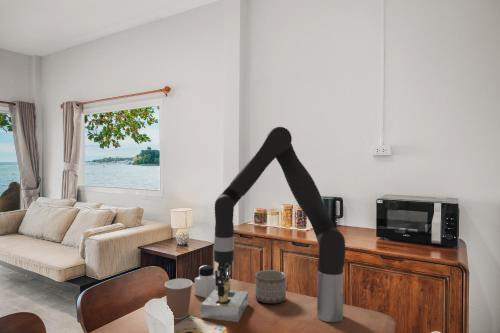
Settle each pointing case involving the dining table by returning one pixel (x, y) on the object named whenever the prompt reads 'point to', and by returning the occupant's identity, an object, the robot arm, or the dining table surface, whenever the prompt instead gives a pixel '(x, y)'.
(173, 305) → the coffee cup
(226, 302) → the brass knob
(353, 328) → the dining table surface
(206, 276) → the medicine bottle
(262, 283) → the planter
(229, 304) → the jig
